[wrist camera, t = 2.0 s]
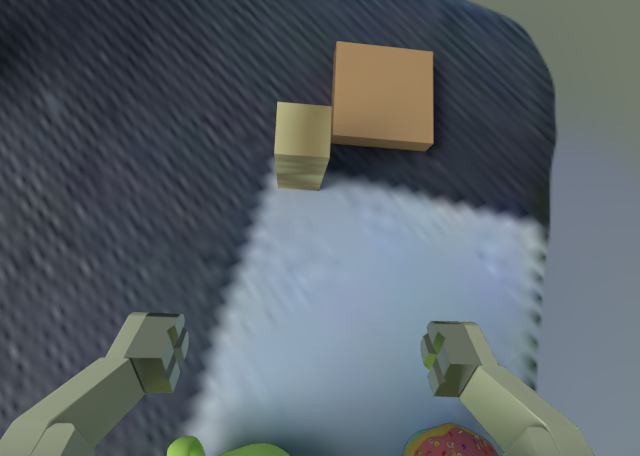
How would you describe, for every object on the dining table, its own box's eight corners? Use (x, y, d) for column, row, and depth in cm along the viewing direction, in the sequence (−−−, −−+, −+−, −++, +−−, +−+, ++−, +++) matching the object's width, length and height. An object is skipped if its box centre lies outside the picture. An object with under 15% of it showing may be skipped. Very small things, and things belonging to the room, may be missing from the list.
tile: (329, 145, 34) (332, 134, 32) (333, 57, 36) (336, 41, 34) (423, 153, 35) (433, 143, 33) (423, 67, 37) (432, 51, 34)
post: (278, 188, 33) (274, 153, 24) (280, 149, 33) (277, 101, 24) (318, 190, 33) (329, 157, 24) (320, 152, 34) (331, 106, 25)
